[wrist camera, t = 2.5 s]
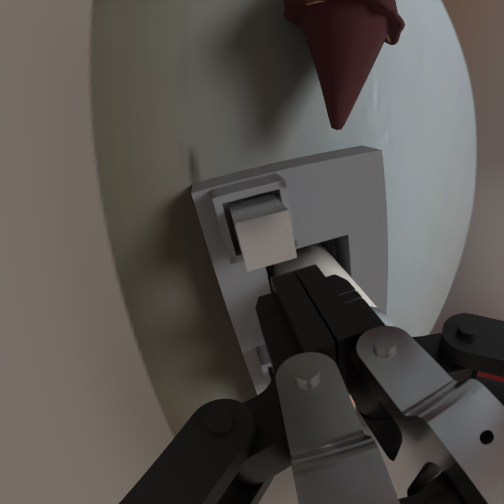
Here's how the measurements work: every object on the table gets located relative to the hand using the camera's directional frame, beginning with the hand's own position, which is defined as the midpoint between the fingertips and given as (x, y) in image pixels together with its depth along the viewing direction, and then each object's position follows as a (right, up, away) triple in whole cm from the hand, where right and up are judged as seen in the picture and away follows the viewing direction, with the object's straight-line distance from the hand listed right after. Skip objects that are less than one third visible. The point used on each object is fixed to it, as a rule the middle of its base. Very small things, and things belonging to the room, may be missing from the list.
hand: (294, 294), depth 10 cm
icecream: (+3, +16, +6) cm, 18 cm away
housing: (+3, -4, +15) cm, 16 cm away
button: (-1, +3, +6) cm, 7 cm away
